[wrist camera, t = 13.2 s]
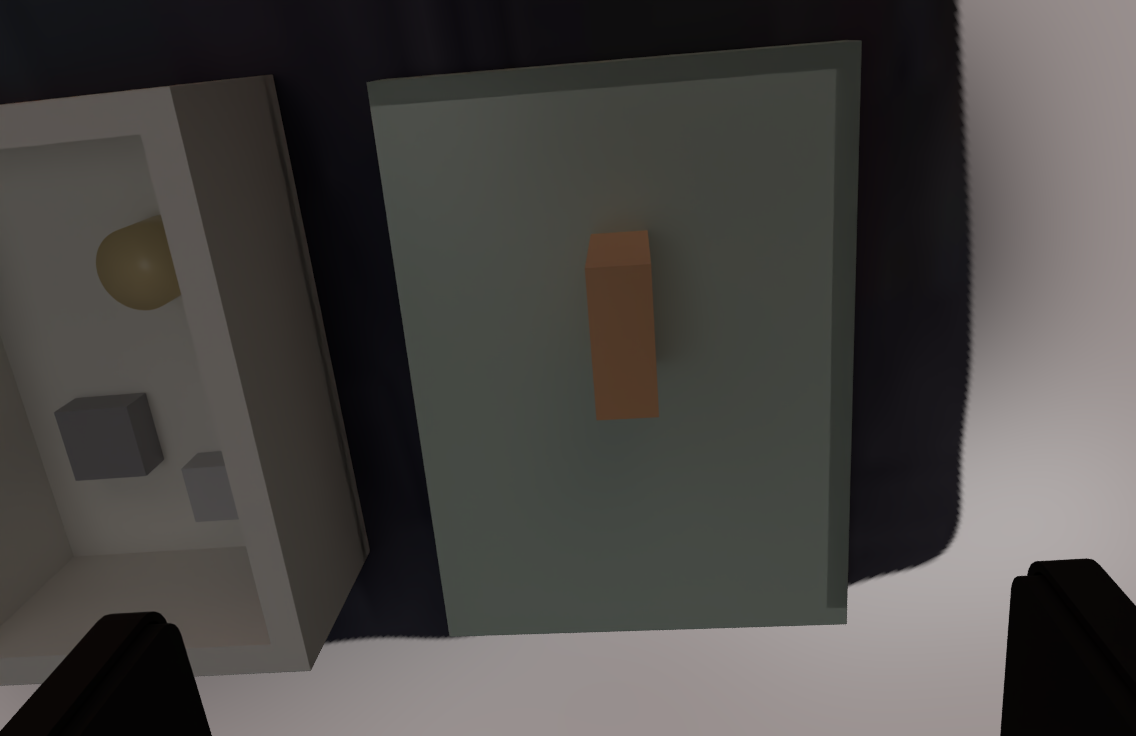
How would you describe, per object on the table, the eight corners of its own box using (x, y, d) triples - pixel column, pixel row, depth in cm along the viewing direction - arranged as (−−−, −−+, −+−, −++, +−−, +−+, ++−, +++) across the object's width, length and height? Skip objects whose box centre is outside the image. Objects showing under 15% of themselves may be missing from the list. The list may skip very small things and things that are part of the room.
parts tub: (-84, 113, 35) (-281, 136, 27) (272, 74, 33) (169, 86, 26) (68, 569, 41) (-55, 688, 34) (370, 551, 40) (310, 670, 32)
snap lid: (383, 79, 33) (320, 91, 26) (845, 39, 32) (905, 42, 25) (459, 604, 41) (425, 720, 34) (834, 591, 39) (878, 709, 32)
